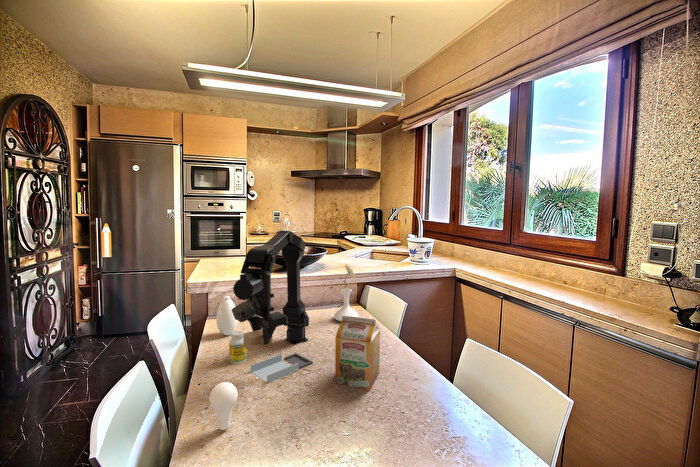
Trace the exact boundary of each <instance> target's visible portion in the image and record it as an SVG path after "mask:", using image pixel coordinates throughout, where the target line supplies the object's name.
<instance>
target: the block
mask: <svg viewBox="0 0 700 467" xmlns="http://www.w3.org/2000/svg"><path fill="white" fill-rule="evenodd" d="M243 335H244V347H245V348H246V351H248V352H250V353H252V352H254V351H258V350H261V349H265V348H269V347H272V346H273V336H272V337H271V339H270V341H269V343H268V344H266V345H265V344H264V339H263V330H262V329H260V330H256V331H250V332H244V334H243Z"/></svg>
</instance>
